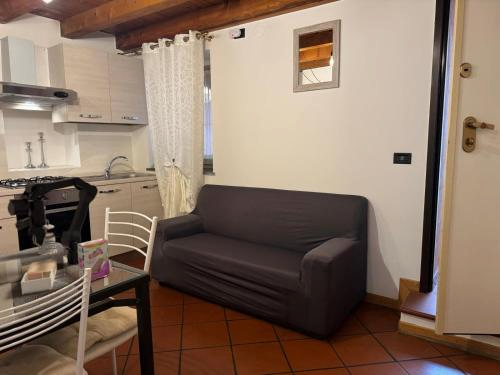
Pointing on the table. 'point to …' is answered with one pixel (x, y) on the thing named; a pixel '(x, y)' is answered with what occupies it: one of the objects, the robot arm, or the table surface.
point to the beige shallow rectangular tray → (44, 267)
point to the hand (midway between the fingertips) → (41, 245)
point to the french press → (51, 241)
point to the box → (37, 284)
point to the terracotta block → (35, 275)
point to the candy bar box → (94, 257)
